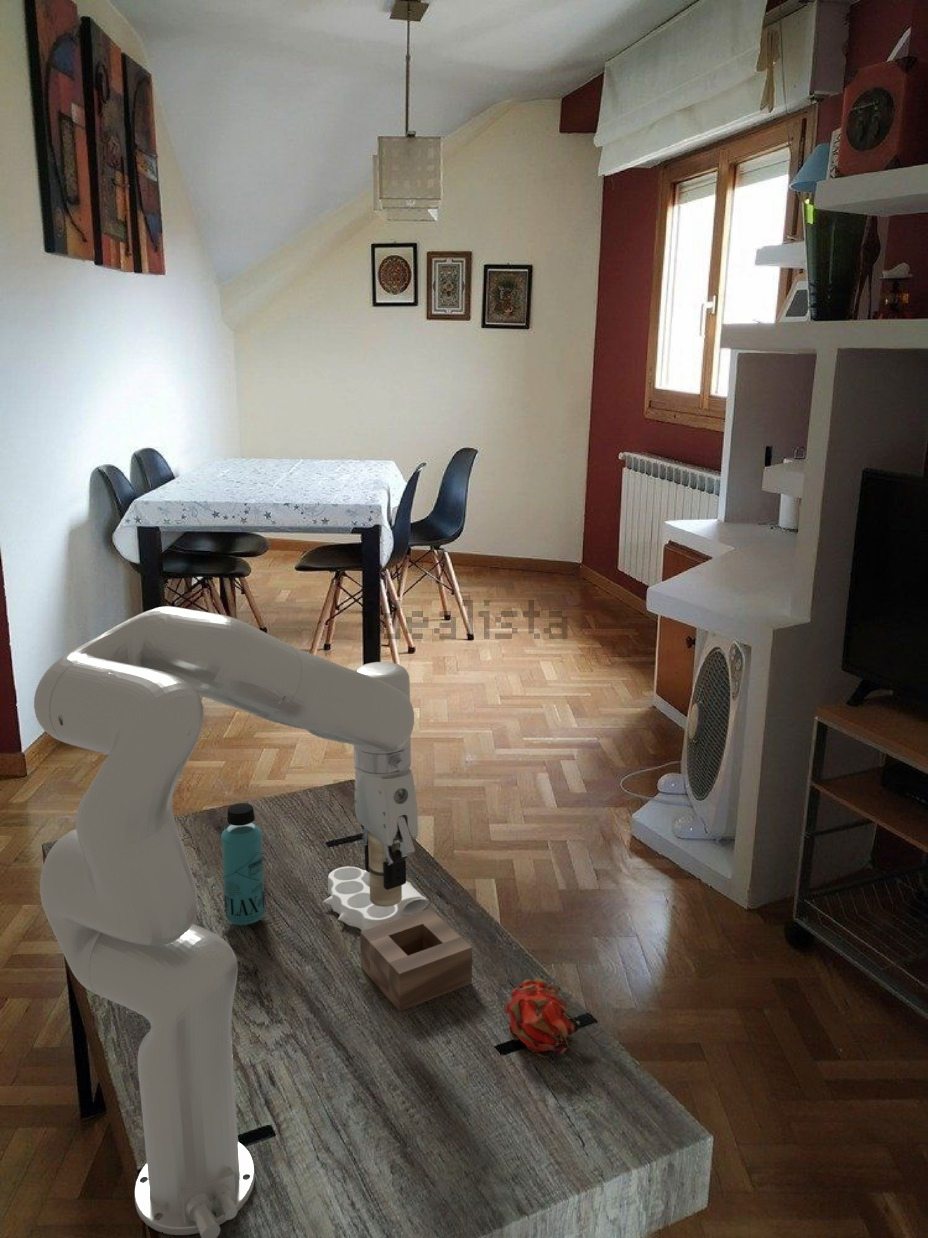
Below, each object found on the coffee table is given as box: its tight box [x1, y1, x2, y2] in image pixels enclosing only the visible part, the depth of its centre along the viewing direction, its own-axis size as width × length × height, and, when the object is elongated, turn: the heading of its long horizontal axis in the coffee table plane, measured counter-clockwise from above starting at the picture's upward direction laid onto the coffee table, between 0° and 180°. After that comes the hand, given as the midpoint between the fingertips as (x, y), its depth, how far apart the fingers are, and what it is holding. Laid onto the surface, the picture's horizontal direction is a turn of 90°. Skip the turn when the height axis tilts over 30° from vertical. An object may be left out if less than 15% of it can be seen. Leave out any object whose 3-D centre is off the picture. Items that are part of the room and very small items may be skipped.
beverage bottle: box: [220, 802, 267, 926], centre depth 154 cm, size 6×7×20 cm
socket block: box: [359, 908, 473, 1012], centre depth 144 cm, size 12×12×6 cm
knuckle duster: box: [322, 866, 428, 931], centre depth 162 cm, size 3×18×15 cm
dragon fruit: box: [503, 977, 581, 1059], centre depth 130 cm, size 8×8×12 cm
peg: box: [368, 832, 402, 907], centre depth 136 cm, size 5×5×10 cm
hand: (385, 876), depth 136 cm, fingers closed on peg, 4 cm apart
